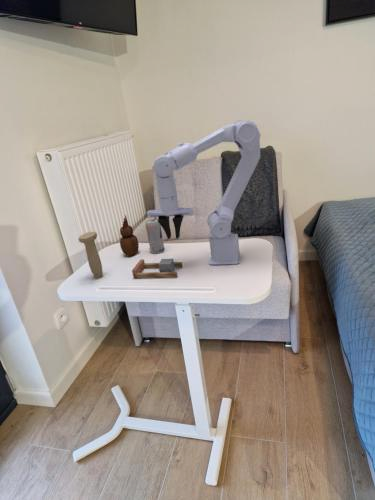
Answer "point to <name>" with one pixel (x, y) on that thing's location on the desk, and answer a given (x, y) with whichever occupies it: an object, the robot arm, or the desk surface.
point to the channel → (141, 266)
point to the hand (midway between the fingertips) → (173, 237)
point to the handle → (92, 253)
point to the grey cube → (166, 265)
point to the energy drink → (154, 236)
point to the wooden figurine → (128, 239)
